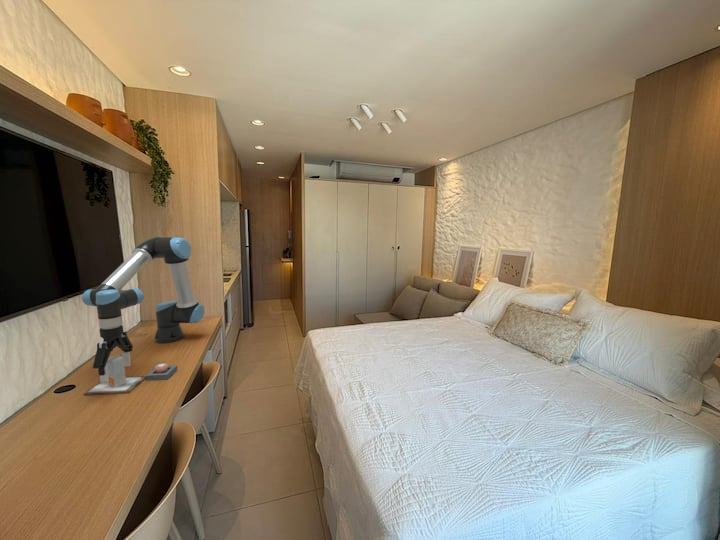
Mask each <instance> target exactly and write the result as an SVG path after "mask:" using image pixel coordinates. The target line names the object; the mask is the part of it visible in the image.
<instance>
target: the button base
mask: <svg viewBox="0 0 720 540" xmlns="http://www.w3.org/2000/svg"><path fill="white" fill-rule="evenodd" d="M177 371H178V365H168V371H167V372H165V373H155V367H154V368H153V369H152V370H151V371H150V372H148V373H147V374H146V375H145V376H146V379H145V381H148V382H149V381H165V380H166V381H167V380H169V379H170V378H171V377H172V376H173V375H174V374H175V373H176V372H177Z"/></svg>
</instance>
